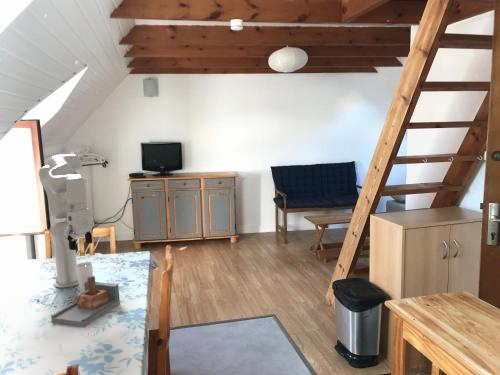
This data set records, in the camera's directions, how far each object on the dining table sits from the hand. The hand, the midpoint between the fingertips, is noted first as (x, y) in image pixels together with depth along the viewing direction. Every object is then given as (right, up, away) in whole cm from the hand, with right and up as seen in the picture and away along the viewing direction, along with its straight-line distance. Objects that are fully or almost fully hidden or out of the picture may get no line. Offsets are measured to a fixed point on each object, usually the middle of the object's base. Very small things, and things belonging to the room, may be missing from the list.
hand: (81, 246), depth 175 cm
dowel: (+5, -25, +2) cm, 25 cm away
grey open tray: (+3, -28, -2) cm, 28 cm away
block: (+5, -25, +2) cm, 25 cm away
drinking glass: (-4, -26, +16) cm, 31 cm away
